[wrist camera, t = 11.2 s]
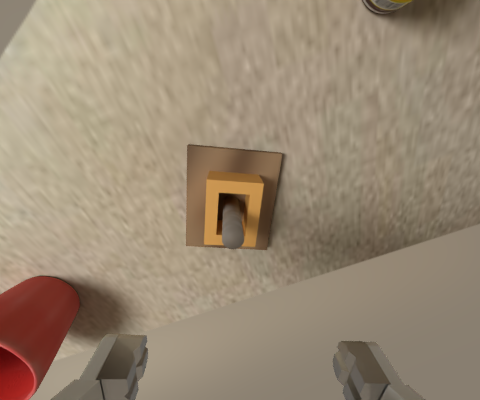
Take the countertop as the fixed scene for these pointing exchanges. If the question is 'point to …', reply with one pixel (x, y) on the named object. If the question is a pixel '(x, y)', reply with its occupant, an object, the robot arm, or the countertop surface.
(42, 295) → the flower pot
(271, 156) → the peg mounting plate
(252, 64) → the countertop surface
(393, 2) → the supplement bottle
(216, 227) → the orange hollow square block
